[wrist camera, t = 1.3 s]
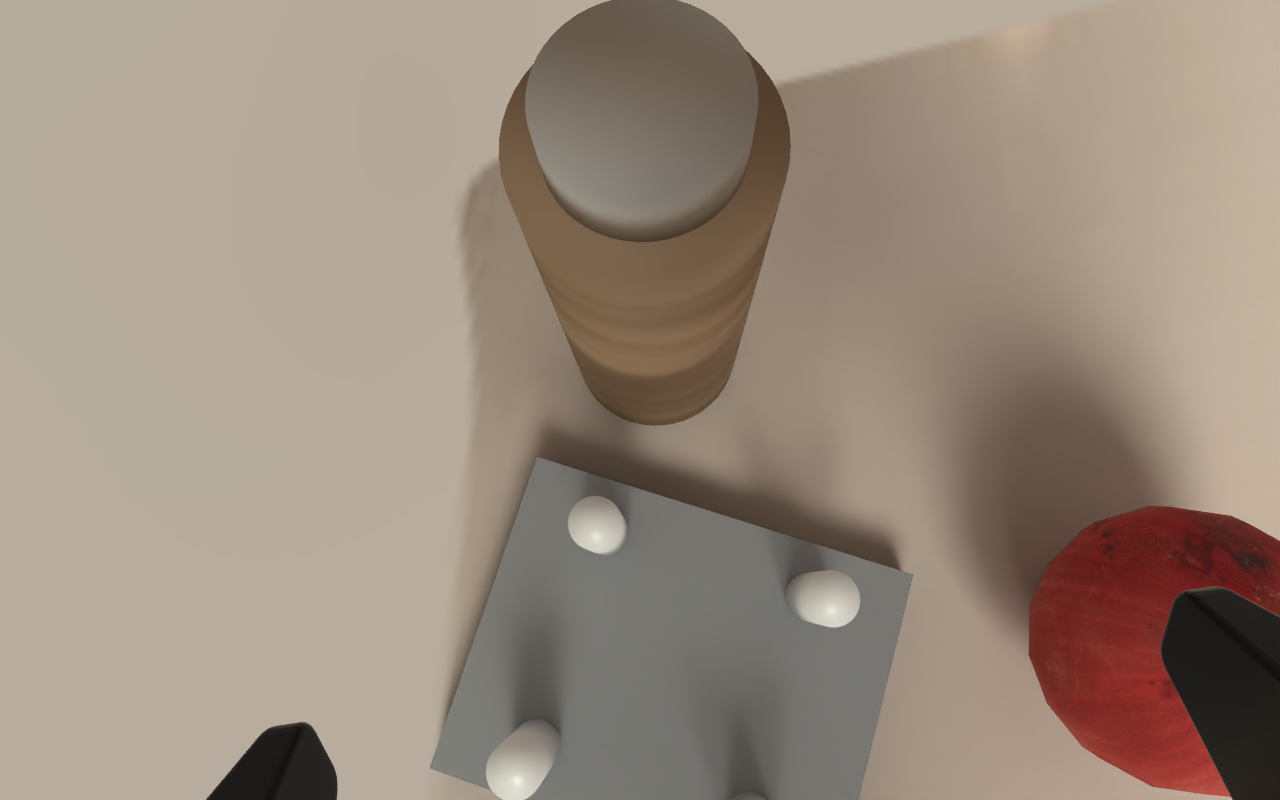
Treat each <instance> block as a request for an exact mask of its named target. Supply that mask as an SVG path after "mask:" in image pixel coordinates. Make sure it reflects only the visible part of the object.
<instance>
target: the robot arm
mask: <svg viewBox="0 0 1280 800" xmlns="http://www.w3.org/2000/svg"><path fill="white" fill-rule="evenodd" d="M1161 656H1162V661H1163V664H1164V666H1165V669H1166V671H1167V673H1168V675H1169V677H1170V679H1171V681H1172V683H1173V685H1174V687H1175V689H1176V691H1177V693H1178V695H1179V697H1180V699H1181V700H1182V702H1183V704H1184V706H1185V708H1186V710H1187V712H1188V714H1189V716H1190V718H1191V720H1192V722H1193V724H1194V726H1195V728H1196V730H1197V732H1198V734H1199V736H1200V738H1201V740H1202V742H1203V744H1204V746H1205V748H1206V749H1207V751H1208V753H1209V755H1210V757H1211V759H1212V761H1213V763H1214V765H1215V767H1216V769H1217V771H1218V773H1219V775H1220V777H1221V779H1222V781H1223V783H1224V785H1225V787H1226V789H1227V790H1228V792H1229V794H1230V796H1231V798H1232V799H1233V800H1280V616H1278V615H1276V614H1274V613H1272V612H1271V611H1269V610H1267V609H1265V608H1263V607H1261V606H1259V605H1258V604H1256V603H1254V602H1252V601H1250V600H1248V599H1246V598H1245V597H1243V596H1241V595H1239V594H1237V593H1235V592H1233V591H1231V590H1229V589H1227V588H1223V587H1218V586H1212V587H1205V588H1198V589H1191V590H1185V591H1182V592H1180V593H1179V594H1178V595H1177V596H1176V597H1175V599H1174V601H1173V604H1172V608H1171V611H1170V614H1169V618H1168V621H1167V625H1166V628H1165V631H1164V635H1163V638H1162V642H1161ZM206 800H337V776H336V772H335V769H334V766H333V764H332V762H331V760H330V759H329V757H328V755H327V753H326V751H325V749H324V747H323V745H322V743H321V741H320V740H319V738H318V736H317V734H316V732H315V730H314V729H313V727H312V726H311V725H309V724H308V723H306V722H299V723H293V724H286V725H279V726H274V727H271V728H269V729H267V730H266V731H265V732H263V733H262V734H261V735H260V736H259V737H258V738H257V740H256V741H255V742H254V743H253V744H252V745H251V747H250V748H249V749H248V750H247V751H246V753H245V754H244V755H243V756H242V757H241V759H240V760H239V761H238V762H237V763H236V765H235V766H234V767H233V768H232V770H230V772H229V773H228V774H227V775H226V776H225V778H224V779H223V780H222V781H221V782H220V784H219V785H218V786H217V787H216V788H215V790H214V791H213V792H212V793H211V794H210V795H209V797H208V798H207V799H206Z"/></svg>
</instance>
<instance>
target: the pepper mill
mask: <svg viewBox="0 0 1280 800" xmlns="http://www.w3.org/2000/svg"><path fill="white" fill-rule="evenodd" d="M790 147H791V145H790V130H789V125H788V120H787V115H786V111H785V108H784V106H783V103H782V100H781V97H780V95H779V93H778V91H777V89H776V88H775V86H774V84H773V82H772V80H771V79H770V77H769V76H768V75H767V73H766V72H765V71H764V69H763V68H762V66H761V65H760V64H759V63H758V62H757V61H756V60H755V59H754V58H753V57H752V56H751V55H750V54H749V53H748V52H746V50H745V49H744V48H743V46H742V45H741V44H740V42H739V41H738V39H737V38H736V37H735V36H734V35H733V34H732V33H731V32H730V30H729V29H728V28H727V27H726V26H724V25H723V24H722V23H721V22H719V21H718V20H717V19H716V18H714V17H713V16H711V15H709V14H708V13H706V12H705V11H703V10H701V9H698V8H696V7H694V6H692V5H690V4H687V3H684V2H680V1H677V0H611V1H608V2H604V3H601V4H599V5H596V6H594V7H591V8H589V9H587V10H585V11H583V12H582V13H580V14H578V15H576V16H575V17H573V18H572V19H571V20H569V21H568V22H566V23H565V24H564V25H563V26H562V27H561V28H559V30H557V31H556V32H555V33H554V34H553V35H552V36H551V38H550V39H549V40H548V41H547V43H546V44H545V45H544V46H543V48H542V50H541V51H540V53H539V54H538V56H537V58H536V60H535V63H534V64H533V65H532V67H531V68H530V69H529V70H528V71H527V72H526V74H525V75H524V76H523V78H522V79H521V81H520V82H519V84H518V86H517V87H516V89H515V91H514V93H513V95H512V97H511V99H510V101H509V104H508V106H507V108H506V112H505V115H504V119H503V121H502V127H501V133H500V139H499V161H500V168H501V175H502V179H503V182H504V186H505V190H506V193H507V195H508V197H509V200H510V202H511V205H512V207H513V209H514V212H515V214H516V217H517V219H518V221H519V224H520V226H521V229H522V231H523V233H524V236H525V238H526V241H527V243H528V245H529V248H530V250H531V253H532V255H533V258H534V260H535V262H536V265H537V267H538V270H539V272H540V274H541V277H542V279H543V282H544V284H545V286H546V289H547V291H548V294H549V296H550V298H551V301H552V303H553V306H554V308H555V311H556V313H557V315H558V318H559V320H560V323H561V325H562V327H563V330H564V332H565V335H566V337H567V339H568V342H569V344H570V347H571V349H572V351H573V354H574V356H575V359H576V361H577V363H578V366H579V368H580V371H581V373H582V375H583V378H584V380H585V382H586V384H587V386H588V388H589V389H590V391H591V393H592V394H593V395H594V396H595V398H596V399H597V400H598V401H599V402H600V403H601V404H602V405H603V406H604V407H605V408H607V409H608V410H610V411H611V412H612V413H614V414H616V415H618V416H619V417H621V418H623V419H626V420H629V421H631V422H635V423H639V424H645V425H667V424H673V423H677V422H680V421H684V420H686V419H688V418H691V417H693V416H695V415H696V414H698V413H700V412H701V411H703V410H704V409H705V408H706V407H708V406H709V405H710V404H711V403H712V402H713V401H714V400H715V399H716V398H717V397H718V395H719V394H720V393H721V391H722V390H723V389H724V387H725V385H726V383H727V381H728V379H729V376H730V374H731V371H732V368H733V364H734V361H735V357H736V354H737V350H738V347H739V343H740V340H741V336H742V332H743V329H744V325H745V322H746V318H747V315H748V311H749V308H750V304H751V301H752V297H753V293H754V290H755V286H756V283H757V279H758V276H759V272H760V269H761V265H762V262H763V258H764V255H765V251H766V247H767V244H768V240H769V237H770V233H771V230H772V226H773V223H774V219H775V216H776V212H777V209H778V205H779V201H780V198H781V194H782V191H783V187H784V184H785V180H786V176H787V171H788V167H789V160H790Z"/></svg>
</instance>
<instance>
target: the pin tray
mask: <svg viewBox="0 0 1280 800" xmlns="http://www.w3.org/2000/svg"><path fill="white" fill-rule="evenodd" d="M912 577H913V574H910V573H907V572H904V571H900V570H897V569H894V568H891V567H888V566H884V565H881V564H878V563H875V562H872V561H868V560H865V559H862V558H859V557H856V556H852V555H849V554H846V553H843V552H840V551H836V550H833V549H830V548H827V547H824V546H821V545H817V544H814V543H811V542H808V541H805V540H801V539H798V538H795V537H792V536H789V535H785V534H782V533H779V532H776V531H773V530H769V529H766V528H763V527H760V526H757V525H753V524H750V523H747V522H744V521H741V520H737V519H734V518H731V517H728V516H725V515H721V514H718V513H715V512H712V511H709V510H705V509H702V508H699V507H696V506H693V505H690V504H686V503H683V502H680V501H677V500H674V499H670V498H667V497H664V496H661V495H658V494H654V493H651V492H648V491H645V490H642V489H638V488H635V487H632V486H629V485H626V484H622V483H619V482H616V481H613V480H610V479H606V478H603V477H600V476H597V475H594V474H590V473H587V472H584V471H581V470H578V469H574V468H571V467H568V466H565V465H562V464H559V463H555V462H552V461H549V460H546V459H543V458H539V457H537V458H536V461H535V464H534V467H533V470H532V473H531V476H530V478H529V481H528V484H527V487H526V490H525V493H524V496H523V499H522V502H521V505H520V507H519V510H518V513H517V516H516V519H515V522H514V525H513V528H512V531H511V534H510V536H509V539H508V542H507V545H506V548H505V551H504V554H503V557H502V560H501V563H500V565H499V568H498V571H497V574H496V577H495V580H494V583H493V586H492V589H491V592H490V594H489V597H488V600H487V603H486V606H485V609H484V612H483V615H482V618H481V621H480V623H479V626H478V629H477V632H476V635H475V638H474V641H473V644H472V647H471V650H470V653H469V655H468V658H467V661H466V664H465V667H464V670H463V673H462V676H461V679H460V682H459V684H458V687H457V690H456V693H455V696H454V699H453V702H452V705H451V708H450V711H449V713H448V716H447V719H446V722H445V725H444V728H443V731H442V734H441V737H440V740H439V742H438V745H437V748H436V751H435V754H434V757H433V760H432V763H431V766H430V768H431V769H433V770H436V771H439V772H442V773H445V774H447V775H450V776H453V777H456V778H459V779H461V780H464V781H467V782H470V783H473V784H476V785H478V786H481V787H484V788H487V789H490V790H492V791H493V793H494V794H495V795H496V796H498V797H499V798H501V799H503V800H858V798H859V794H860V789H861V785H862V781H863V777H864V773H865V769H866V765H867V761H868V757H869V753H870V749H871V745H872V740H873V736H874V732H875V728H876V724H877V720H878V716H879V712H880V708H881V704H882V700H883V696H884V692H885V687H886V683H887V679H888V675H889V671H890V667H891V663H892V659H893V655H894V651H895V647H896V643H897V638H898V634H899V630H900V626H901V622H902V618H903V614H904V610H905V606H906V602H907V598H908V594H909V589H910V585H911V581H912Z"/></svg>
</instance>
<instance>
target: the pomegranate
mask: <svg viewBox="0 0 1280 800" xmlns="http://www.w3.org/2000/svg"><path fill="white" fill-rule="evenodd" d="M1212 586H1218V587H1223V588H1227V589H1229V590H1231V591H1233V592H1235V593H1237V594H1239V595H1241V596H1243V597H1245V598H1246V599H1248V600H1250V601H1252V602H1254V603H1256V604H1258V605H1259V606H1261V607H1263V608H1265V609H1267V610H1269V611H1271V612H1272V613H1274V614H1276V615H1278V616H1280V541H1279V540H1277V539H1275V538H1273V537H1271V536H1270V535H1268V534H1266V533H1264V532H1262V531H1261V530H1259V529H1257V528H1255V527H1253V526H1252V525H1250V524H1248V523H1246V522H1243V521H1241V520H1239V519H1237V518H1235V517H1233V516H1228V515H1221V514H1215V513H1208V512H1201V511H1194V510H1187V509H1181V508H1174V507H1162V506H1148V507H1144V508H1141V509H1138V510H1134V511H1131V512H1128V513H1124V514H1121V515H1118V516H1114V517H1111V518H1108V519H1105V520H1101V521H1098V522H1095V523H1093V524H1091V525H1090V526H1088V527H1087V528H1085V529H1084V530H1082V531H1081V532H1080V533H1079V534H1078V535H1077V536H1076V537H1075V538H1074V539H1073V540H1072V541H1071V542H1070V543H1069V544H1068V545H1067V546H1066V547H1065V548H1064V549H1063V550H1062V551H1061V552H1060V553H1059V554H1058V555H1057V556H1056V557H1055V558H1054V559H1053V560H1052V561H1051V562H1050V563H1049V564H1048V566H1047V568H1046V571H1045V573H1044V575H1043V577H1042V580H1041V582H1040V584H1039V587H1038V589H1037V591H1036V593H1035V596H1034V598H1033V600H1032V603H1031V605H1030V618H1029V656H1030V659H1031V662H1032V664H1033V667H1034V670H1035V672H1036V675H1037V678H1038V680H1039V683H1040V686H1041V688H1042V691H1043V694H1044V696H1045V699H1046V702H1047V704H1048V705H1049V706H1050V708H1051V709H1052V710H1053V711H1054V712H1055V714H1056V715H1057V716H1058V717H1059V719H1060V720H1061V721H1062V722H1063V724H1064V725H1065V726H1066V727H1067V728H1068V730H1069V731H1070V732H1071V733H1072V735H1073V736H1074V737H1075V738H1076V740H1077V741H1078V742H1079V743H1080V744H1081V746H1082V747H1084V748H1085V749H1087V750H1089V751H1090V752H1092V753H1093V754H1095V755H1096V756H1098V757H1099V758H1101V759H1103V760H1104V761H1106V762H1108V763H1110V764H1112V765H1114V766H1115V767H1117V768H1119V769H1121V770H1123V771H1125V772H1126V773H1128V774H1130V775H1132V776H1134V777H1136V778H1137V779H1139V780H1141V781H1143V782H1145V783H1147V784H1148V785H1150V786H1152V787H1159V788H1166V789H1173V790H1180V791H1186V792H1193V793H1200V794H1208V795H1218V796H1229V797H1231V796H1230V794H1229V792H1228V790H1227V789H1226V787H1225V785H1224V783H1223V781H1222V779H1221V777H1220V775H1219V773H1218V771H1217V769H1216V767H1215V765H1214V763H1213V761H1212V759H1211V757H1210V755H1209V753H1208V751H1207V749H1206V748H1205V746H1204V744H1203V742H1202V740H1201V738H1200V736H1199V734H1198V732H1197V730H1196V728H1195V726H1194V724H1193V722H1192V720H1191V718H1190V716H1189V714H1188V712H1187V710H1186V708H1185V706H1184V704H1183V702H1182V700H1181V699H1180V697H1179V695H1178V693H1177V691H1176V689H1175V687H1174V685H1173V683H1172V681H1171V679H1170V677H1169V675H1168V673H1167V671H1166V669H1165V666H1164V664H1163V661H1162V656H1161V642H1162V638H1163V635H1164V631H1165V628H1166V625H1167V621H1168V618H1169V614H1170V611H1171V608H1172V604H1173V601H1174V599H1175V597H1176V596H1177V595H1178V594H1179V593H1180V592H1182V591H1185V590H1191V589H1198V588H1205V587H1212Z"/></svg>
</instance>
